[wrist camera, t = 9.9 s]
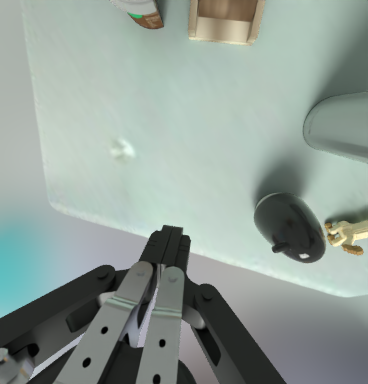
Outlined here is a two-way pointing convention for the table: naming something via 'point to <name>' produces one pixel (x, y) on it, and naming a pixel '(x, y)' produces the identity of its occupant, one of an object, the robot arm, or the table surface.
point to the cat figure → (348, 235)
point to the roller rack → (225, 20)
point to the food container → (142, 12)
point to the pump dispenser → (290, 227)
